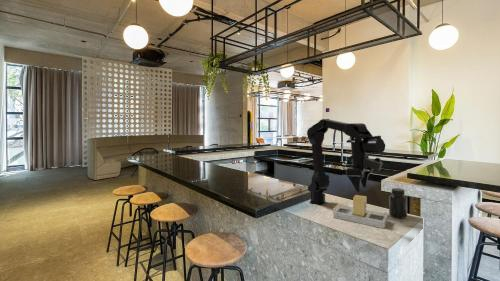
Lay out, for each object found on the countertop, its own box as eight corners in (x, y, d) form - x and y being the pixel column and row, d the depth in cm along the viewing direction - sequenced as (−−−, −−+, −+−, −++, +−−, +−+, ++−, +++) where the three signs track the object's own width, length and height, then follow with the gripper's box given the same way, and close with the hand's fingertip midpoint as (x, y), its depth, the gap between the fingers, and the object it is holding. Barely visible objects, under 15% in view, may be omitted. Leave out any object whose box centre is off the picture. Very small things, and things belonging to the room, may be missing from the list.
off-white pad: (333, 209, 117) (333, 208, 117) (338, 204, 124) (338, 203, 124) (355, 214, 111) (355, 213, 111) (359, 208, 118) (359, 207, 118)
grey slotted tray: (333, 217, 108) (333, 212, 108) (338, 211, 115) (338, 206, 114) (384, 228, 96) (384, 222, 96) (387, 221, 103) (387, 215, 102)
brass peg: (352, 220, 105) (353, 197, 104) (355, 216, 108) (355, 194, 108) (364, 222, 102) (364, 199, 101) (366, 218, 106) (366, 196, 105)
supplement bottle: (400, 212, 112) (400, 187, 111) (410, 218, 105) (411, 191, 104) (385, 213, 111) (386, 187, 110) (394, 219, 105) (395, 192, 104)
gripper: (373, 154, 91) (377, 196, 91) (384, 150, 105) (387, 186, 105) (343, 154, 98) (346, 193, 98) (357, 151, 112) (360, 185, 112)
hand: (361, 189), depth 103 cm, fingers open, 9 cm apart
